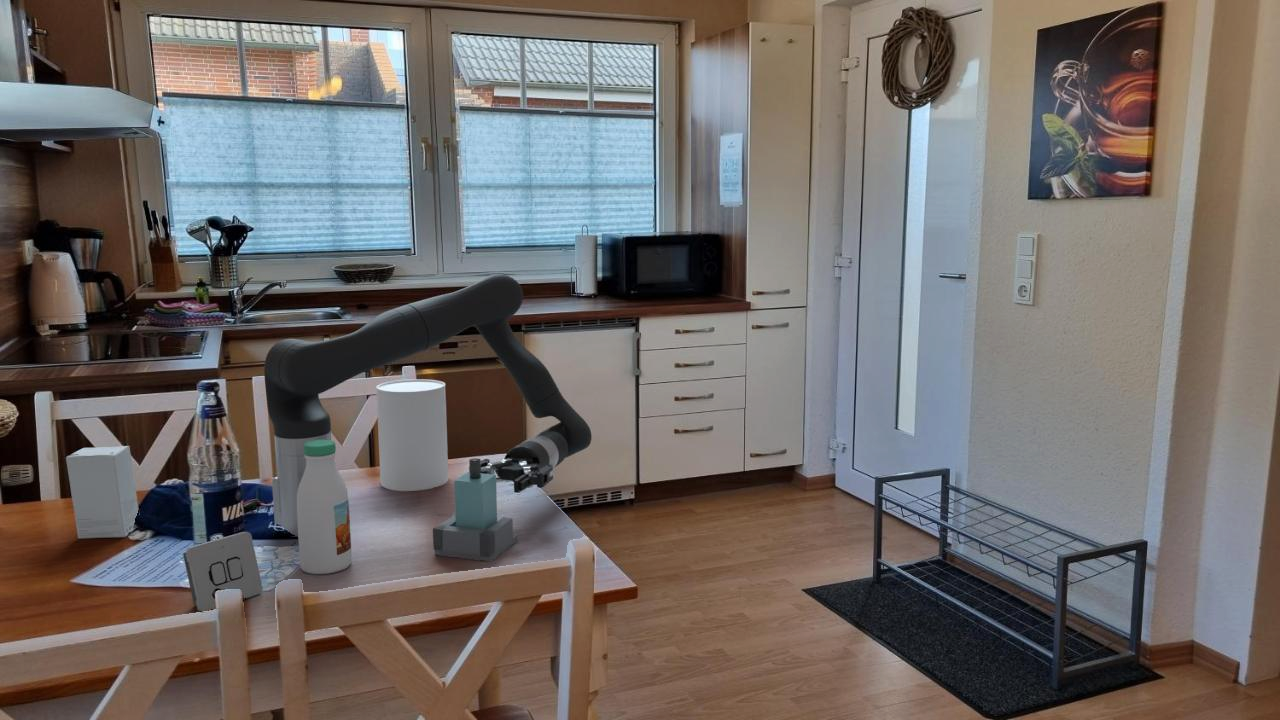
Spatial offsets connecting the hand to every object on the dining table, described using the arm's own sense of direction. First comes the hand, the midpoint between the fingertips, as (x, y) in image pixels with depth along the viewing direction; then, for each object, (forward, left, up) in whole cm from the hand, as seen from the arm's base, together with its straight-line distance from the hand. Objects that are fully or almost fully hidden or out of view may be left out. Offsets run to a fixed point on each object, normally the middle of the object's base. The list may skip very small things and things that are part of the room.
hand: (493, 484), depth 160 cm
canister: (-25, +29, -9) cm, 39 cm away
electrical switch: (-31, -31, -9) cm, 45 cm away
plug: (-1, -6, -8) cm, 10 cm away
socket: (-1, -6, -9) cm, 11 cm away
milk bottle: (-22, -17, -9) cm, 30 cm away
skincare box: (-66, -8, -9) cm, 67 cm away
